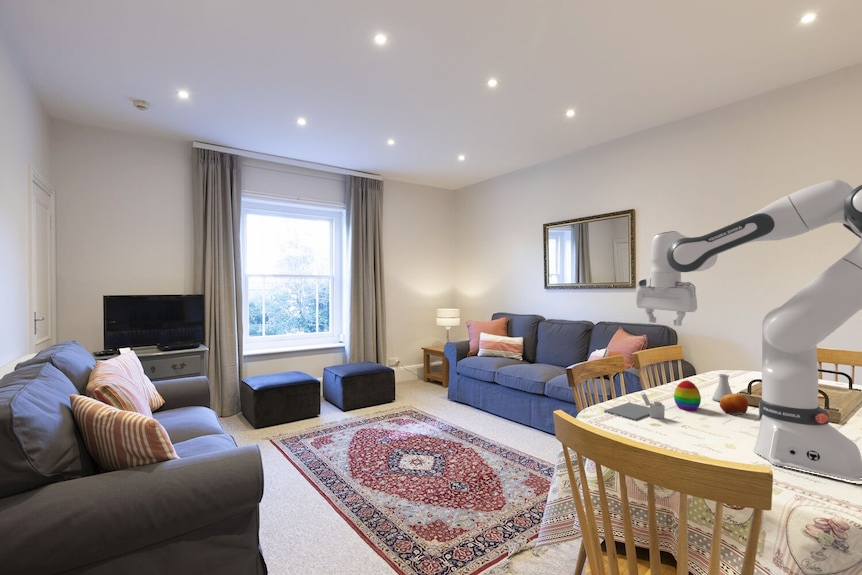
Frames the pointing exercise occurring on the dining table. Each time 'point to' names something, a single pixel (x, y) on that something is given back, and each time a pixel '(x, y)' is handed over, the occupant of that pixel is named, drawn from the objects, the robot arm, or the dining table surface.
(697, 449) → the dining table surface
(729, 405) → the fruit
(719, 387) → the flask
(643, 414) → the mat
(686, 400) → the decorative egg
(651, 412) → the lighter
